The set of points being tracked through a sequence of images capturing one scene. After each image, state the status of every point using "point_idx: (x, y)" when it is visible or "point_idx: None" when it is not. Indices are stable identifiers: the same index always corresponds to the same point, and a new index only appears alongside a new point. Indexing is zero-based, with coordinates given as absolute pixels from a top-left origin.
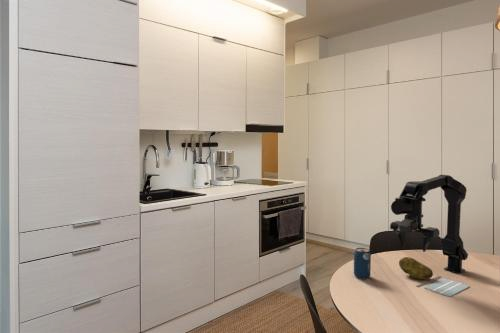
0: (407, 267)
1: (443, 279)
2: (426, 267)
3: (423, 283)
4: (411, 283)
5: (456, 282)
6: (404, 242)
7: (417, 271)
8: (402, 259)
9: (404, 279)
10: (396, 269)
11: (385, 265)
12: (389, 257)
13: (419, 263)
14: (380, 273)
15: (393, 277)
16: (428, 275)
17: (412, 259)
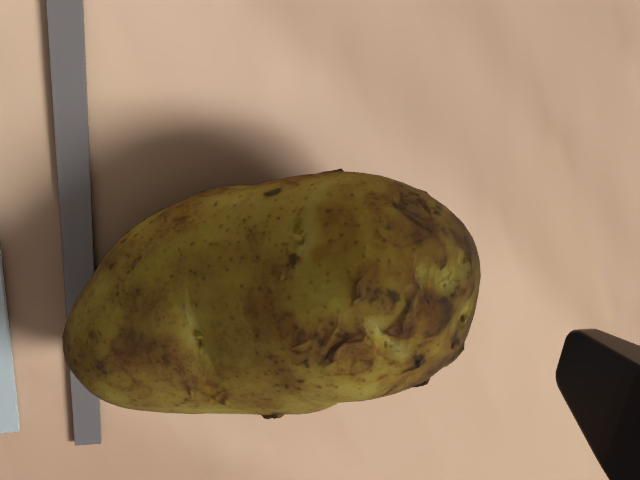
0: (322, 190)
1: (4, 399)
2: (133, 366)
3: (70, 129)
4: (176, 28)
5: None
6: (613, 461)
7: (192, 225)
8: (450, 273)
9: (297, 88)
10: None
11: (590, 296)
12: None
13: (230, 365)
14: (568, 49)
15: (415, 47)
16: (84, 287)
17: (327, 348)
